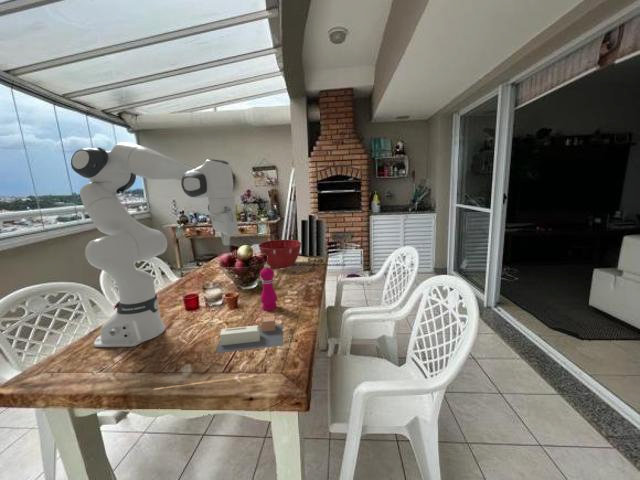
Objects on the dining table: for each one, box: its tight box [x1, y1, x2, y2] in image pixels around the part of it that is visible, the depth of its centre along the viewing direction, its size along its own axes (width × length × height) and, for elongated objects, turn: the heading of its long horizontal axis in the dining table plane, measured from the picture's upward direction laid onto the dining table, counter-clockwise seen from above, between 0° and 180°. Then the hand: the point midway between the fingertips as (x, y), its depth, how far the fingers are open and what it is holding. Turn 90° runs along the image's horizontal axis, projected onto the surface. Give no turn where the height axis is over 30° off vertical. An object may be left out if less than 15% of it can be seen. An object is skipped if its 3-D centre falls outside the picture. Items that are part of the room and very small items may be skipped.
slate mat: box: [215, 324, 284, 354], centre depth 102 cm, size 22×15×1 cm
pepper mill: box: [259, 264, 278, 312], centre depth 125 cm, size 7×7×20 cm
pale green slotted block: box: [219, 324, 261, 346], centre depth 100 cm, size 13×4×4 cm, turn 99°
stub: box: [260, 315, 276, 332], centre depth 107 cm, size 5×4×4 cm
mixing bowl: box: [258, 239, 302, 270], centre depth 191 cm, size 28×28×16 cm
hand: (226, 244), depth 103 cm, fingers closed
